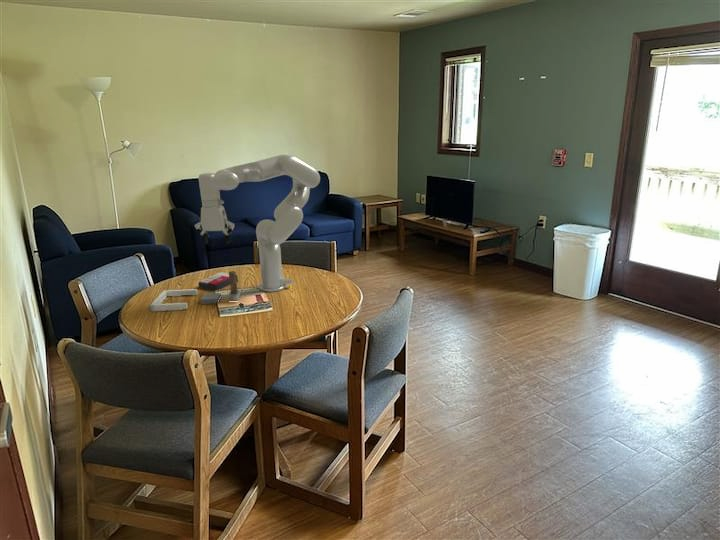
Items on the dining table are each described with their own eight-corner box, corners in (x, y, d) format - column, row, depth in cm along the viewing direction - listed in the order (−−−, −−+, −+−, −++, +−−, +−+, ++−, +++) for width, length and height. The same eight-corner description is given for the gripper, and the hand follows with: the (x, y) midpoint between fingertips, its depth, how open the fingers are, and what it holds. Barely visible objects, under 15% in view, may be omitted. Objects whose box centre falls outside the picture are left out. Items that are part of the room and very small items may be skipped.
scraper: (240, 296, 218) (238, 269, 215) (238, 302, 211) (235, 274, 207) (231, 296, 218) (228, 269, 215) (228, 303, 211) (225, 275, 207)
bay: (197, 294, 222) (196, 288, 222) (186, 309, 204) (186, 303, 203) (164, 295, 221) (163, 290, 221) (150, 311, 203) (149, 305, 202)
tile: (221, 298, 218) (220, 293, 217) (218, 304, 211) (217, 298, 210) (204, 299, 217) (204, 293, 216) (201, 304, 210) (200, 299, 210)
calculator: (197, 281, 230) (220, 270, 243) (198, 289, 232) (221, 279, 244) (215, 284, 225) (237, 273, 238) (216, 292, 227) (238, 281, 239)
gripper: (234, 201, 207) (239, 241, 212) (196, 202, 210) (201, 241, 215) (227, 205, 200) (232, 246, 205) (187, 205, 202) (193, 246, 208)
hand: (216, 243), depth 210 cm, fingers open, 9 cm apart
